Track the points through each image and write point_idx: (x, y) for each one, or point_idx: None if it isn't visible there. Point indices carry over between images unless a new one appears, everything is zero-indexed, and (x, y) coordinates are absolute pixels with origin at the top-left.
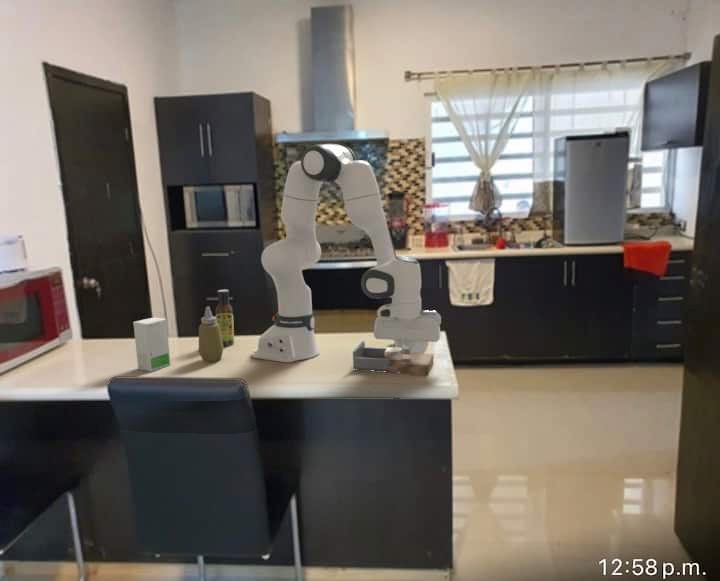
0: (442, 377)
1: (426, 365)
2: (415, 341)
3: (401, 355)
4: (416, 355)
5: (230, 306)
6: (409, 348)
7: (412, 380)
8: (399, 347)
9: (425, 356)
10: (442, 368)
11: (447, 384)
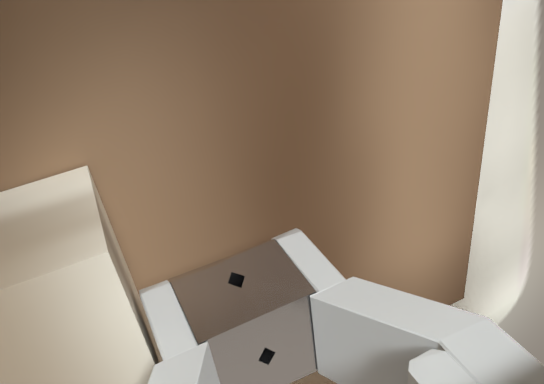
0: (494, 223)
1: (450, 304)
2: (506, 355)
3: (159, 357)
4: (293, 67)
5: None
6: (330, 377)
7: (316, 380)
8: (8, 291)
9: (422, 53)
10: (502, 28)
11: (514, 299)
